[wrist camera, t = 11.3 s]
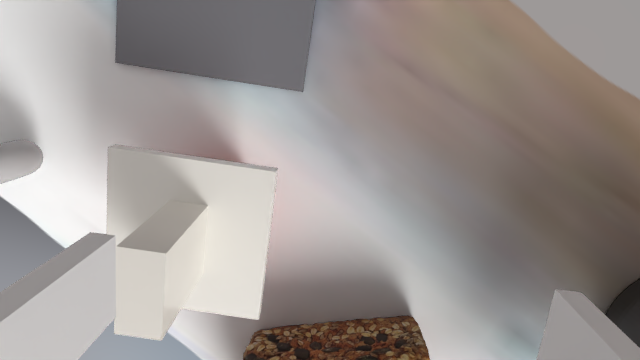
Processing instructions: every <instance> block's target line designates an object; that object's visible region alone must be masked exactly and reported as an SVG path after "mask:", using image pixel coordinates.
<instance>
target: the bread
mask: <svg viewBox="0 0 640 360" xmlns="http://www.w3.org/2000/svg"><path fill="white" fill-rule="evenodd" d="M243 360H430V358H429V353H428V349H427V347H426V344H425V341H424V339H423V336H422V333H421V330H420V327H419V326H418V323H417V322H416V321H415V320H414V318H413V317H410V316H398V317H390V318H373V319H371V320H367V319H356V320H352V321H349V320H347V321H336V322H327V323H316V324H314V325H313V326H311V325H307V324H303V325H293V326H285V327H277V328H272V329H270V330H259V331H257V332H255V333H254V335H252V339H251V342H250V344H249V345H248V346H247V347H246V350H245V352H244V355H243Z"/></svg>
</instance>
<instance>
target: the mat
mask: <svg viewBox="0 0 640 360" xmlns="http://www.w3.org/2000/svg"><path fill="white" fill-rule="evenodd" d="M315 1H316V0H117V25H116V59H115V63H122V64H128V65H135V66H141V67H147V68H154V69H160V70H166V71H173V72H179V73H186V74H192V75H198V76H205V77H211V78H218V79H224V80H230V81H237V82H243V83H249V84H256V85H262V86H269V87H275V88H281V89H288V90H294V91H300V92H303V87H304V80H305V73H306V66H307V59H308V51H309V44H310V37H311V30H312V23H313V15H314V8H315Z"/></svg>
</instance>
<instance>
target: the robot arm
mask: <svg viewBox="0 0 640 360" xmlns="http://www.w3.org/2000/svg"><path fill="white" fill-rule="evenodd" d="M115 318H116V235H108V234H99V233H91V232H90V233H89V234H87V235H86V236H84V237H83V238H81V239H80V240H78V241H77V242H75V243H74V244H72V245H71V246H69V247H68V248H66V249H65V250H63V251H62V252H60V253H59V254H57V255H56V256H54V257H53V258H51V259H50V260H48V261H47V262H45V263H44V264H42V265H41V266H39V267H38V268H36V269H35V270H33V271H32V272H30V273H29V274H27V275H26V276H25V277H23V278H21V279H20V280H18V281H17V282H15V283H14V284H12V285H11V286H9V287H8V288H7V289H5V290H3V291H2V292H0V360H78V359H79V357H80V356H81V355H82V354H83V353H84V352H85V351H86V350H87V349H88V348H89V346H90V345H91V344H92V343H93V342H94V341H95V340H96V339H97V338H98V337H99V335H100V334H101V333H102V332H103V331H104V330H105V329H106V328H107V326H108V325H109V324H110V323H111V322H112V321H113V320H114V319H115ZM536 360H640V280H638V281H636V282H635V283H633V284H632V285H630V286H629V287H628V288H627V289H625V290H624V291H623V292H622V293H621V294H620V295H619V296H618V297H617V299H616V300H615V301H614V302H613V304H612V305H611V307H610V308H609V310H608V312H607V314H606V315H605V314H604V313H603V312H601V311H600V310H599V309H598V308H597V307H596V306H595V305H594V304H593V303H592V302H591V301H590V300H589V299H588V298H587V297H586V296H585V295H584V294H583V293H582V292H574V291H566V290H558V289H555V292H554V296H553V300H552V303H551V307H550V311H549V315H548V318H547V322H546V326H545V330H544V333H543V337H542V341H541V344H540V348H539V352H538V356H537V359H536Z"/></svg>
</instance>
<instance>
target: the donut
mask: <svg viewBox="0 0 640 360" xmlns="http://www.w3.org/2000/svg"><path fill="white" fill-rule="evenodd" d="M42 162H43V154H42V151H41V149H40V148H39V147H38V146H37V145H36V144H35V143H33V142H30V141H27V140H16V141H11V142H6V143H2V144H0V184H2V183H5V182H8V181H11V180H14V179H17V178H20V177H23V176H26V175H28V174H31V173H33V172H35V171H36V170H37V169H38V168H40V166H41V164H42Z"/></svg>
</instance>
